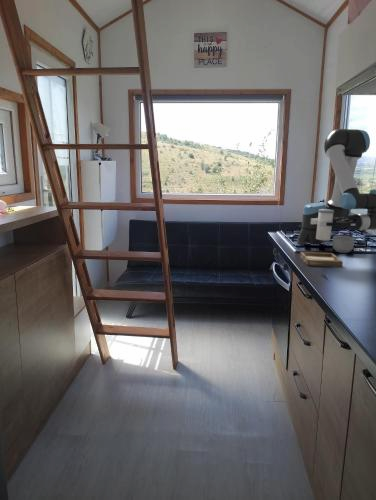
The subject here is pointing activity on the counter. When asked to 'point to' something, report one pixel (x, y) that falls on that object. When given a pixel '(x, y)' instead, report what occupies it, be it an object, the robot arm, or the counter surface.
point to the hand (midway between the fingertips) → (315, 222)
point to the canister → (324, 232)
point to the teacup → (343, 243)
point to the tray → (320, 259)
